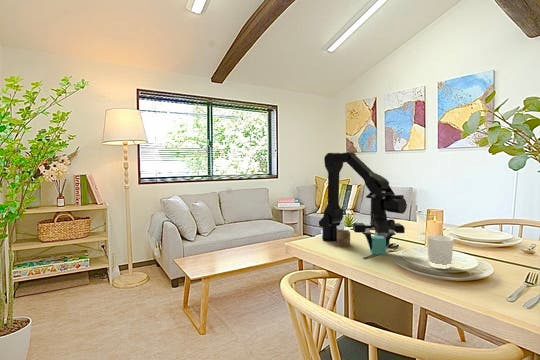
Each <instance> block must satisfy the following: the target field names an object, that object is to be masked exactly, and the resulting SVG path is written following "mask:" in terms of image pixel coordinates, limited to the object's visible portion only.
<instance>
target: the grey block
mask: <svg viewBox="0 0 540 360" xmlns="http://www.w3.org/2000/svg"><path fill="white" fill-rule="evenodd" d="M374 236H383V237H384V233H377V232H376V230H374ZM390 241H391V239H390V240H389V242H388V245H390ZM388 245H387V247H388ZM390 246H391V245H390Z"/></svg>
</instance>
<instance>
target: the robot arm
mask: <svg viewBox="0 0 540 360" xmlns="http://www.w3.org/2000/svg"><path fill="white" fill-rule="evenodd" d="M323 160H324V167H325V170H326V172H327V205H326V206H325V207H324V211H323V216H322V218H321V219H320V220H319V221H318V225H319V228H320V227H321V229H322V234H321V239H322V241H324V242H326V241H327V242H337V230H339V229H338V227H339V226H340V225H341V222H342V221H343V218H344V217H345V215H344V208H342V207H341V206H340V173H341V171H342V169H343V167H344V163H347V164H348V165H349V166H350V167H351V168H352V169H353V171H355V172H356V173H357V175H359V176H360V178H362V179H363V181H364V184H365V187H366V188H367V189H368V191H369V193H368V194H367V195H366V196H365V198H366V199H370V221H369V224H370V225H369V224H367V225H366V224H365V223H364V222H353V224H352V231H353V232H354V233H359V234H363V235H364V236H365V238H366V241H367V244H368V247H369V250H370V249H372V243H371V236H372V233H371V231H375V230H376V232H377V233H384V238H385V239H386V248H387V247H388V246H387V245H388V242H389V240H390V241H391V239H392V237H393V236H396V234H405V229H406V228H405V226H404V225H402V224H401V223H400V222H399V223H398V222H396V221H395V220H394V219H388V218H387V217H388V216H387V212H388V213H393V214H394V213H395V214H400V215H401V214H402V215H403V214H405V212H406V210H407V208H408V203H407V201H406V199H405V198H404V195H403V194H395V192H394V191H393V189H392V188H391V186H390V182H389V181H388V179H387V178H385V177H384V176H382V175H380V174H378V173H376V172H374V171H373V170H372V169H371V168H369V166H367V165H366V164H365V162H364V161H362V160H361V159H360V158H359V157H358V156H357V155H356V153H355V152H353V151H345V152H341V153H340V152H327V153H326V154H325V156H324V159H323Z"/></svg>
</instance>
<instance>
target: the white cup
mask: <svg viewBox="0 0 540 360" xmlns="http://www.w3.org/2000/svg"><path fill="white" fill-rule="evenodd" d="M426 240H427V258H428V260H429V261H430V262H432V263H435V264H442V265H447V264H451V265H452V261H453V251H454V243H455V241H454V240H455V239H454V238H453V237H450V236H446V235H440V234H439V235H438V234H432V235H431V234H429V235H427V239H426Z"/></svg>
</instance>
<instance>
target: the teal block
mask: <svg viewBox="0 0 540 360" xmlns="http://www.w3.org/2000/svg"><path fill="white" fill-rule="evenodd" d="M371 243H372V249H370V248H369V251H370V253H371V254H372V255H386V253H387V247H386V239H385V238H384V237H383V236H375V235H371Z"/></svg>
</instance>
